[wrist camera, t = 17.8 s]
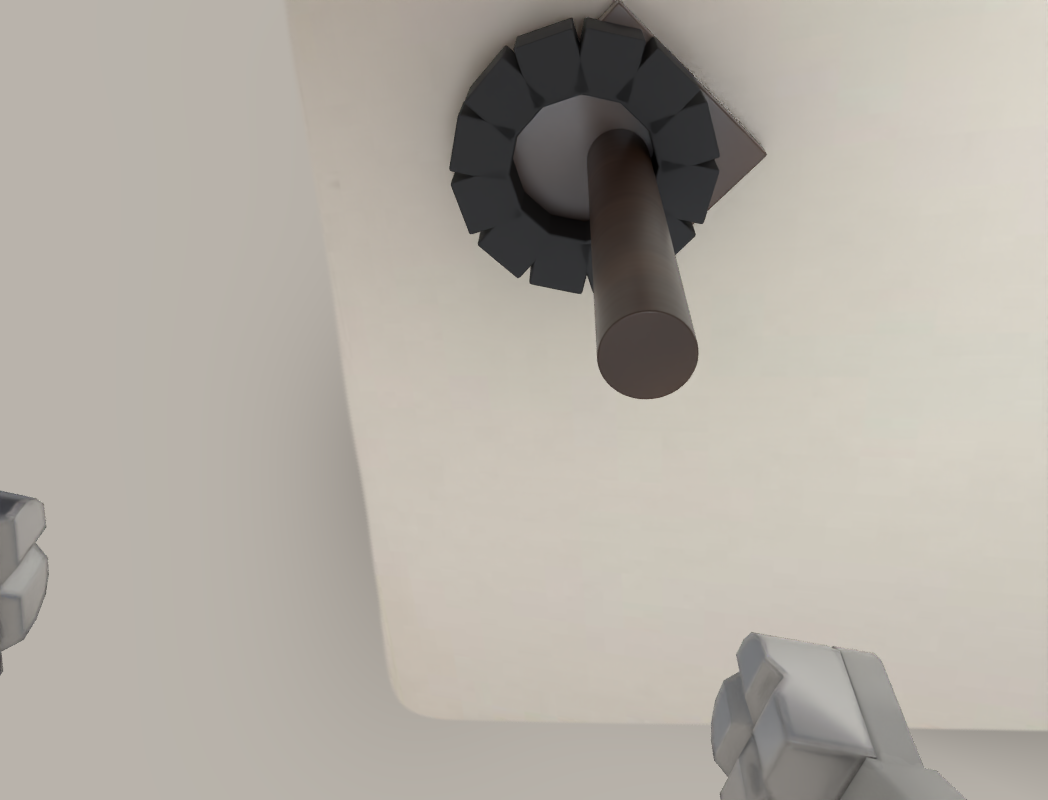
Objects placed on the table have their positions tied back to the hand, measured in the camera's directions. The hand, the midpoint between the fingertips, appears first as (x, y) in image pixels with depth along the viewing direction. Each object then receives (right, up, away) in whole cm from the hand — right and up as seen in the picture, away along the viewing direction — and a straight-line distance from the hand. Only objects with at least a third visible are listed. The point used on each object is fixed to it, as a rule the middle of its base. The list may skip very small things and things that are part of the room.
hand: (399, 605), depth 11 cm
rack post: (+5, +12, +26) cm, 29 cm away
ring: (+4, +12, +25) cm, 28 cm away
